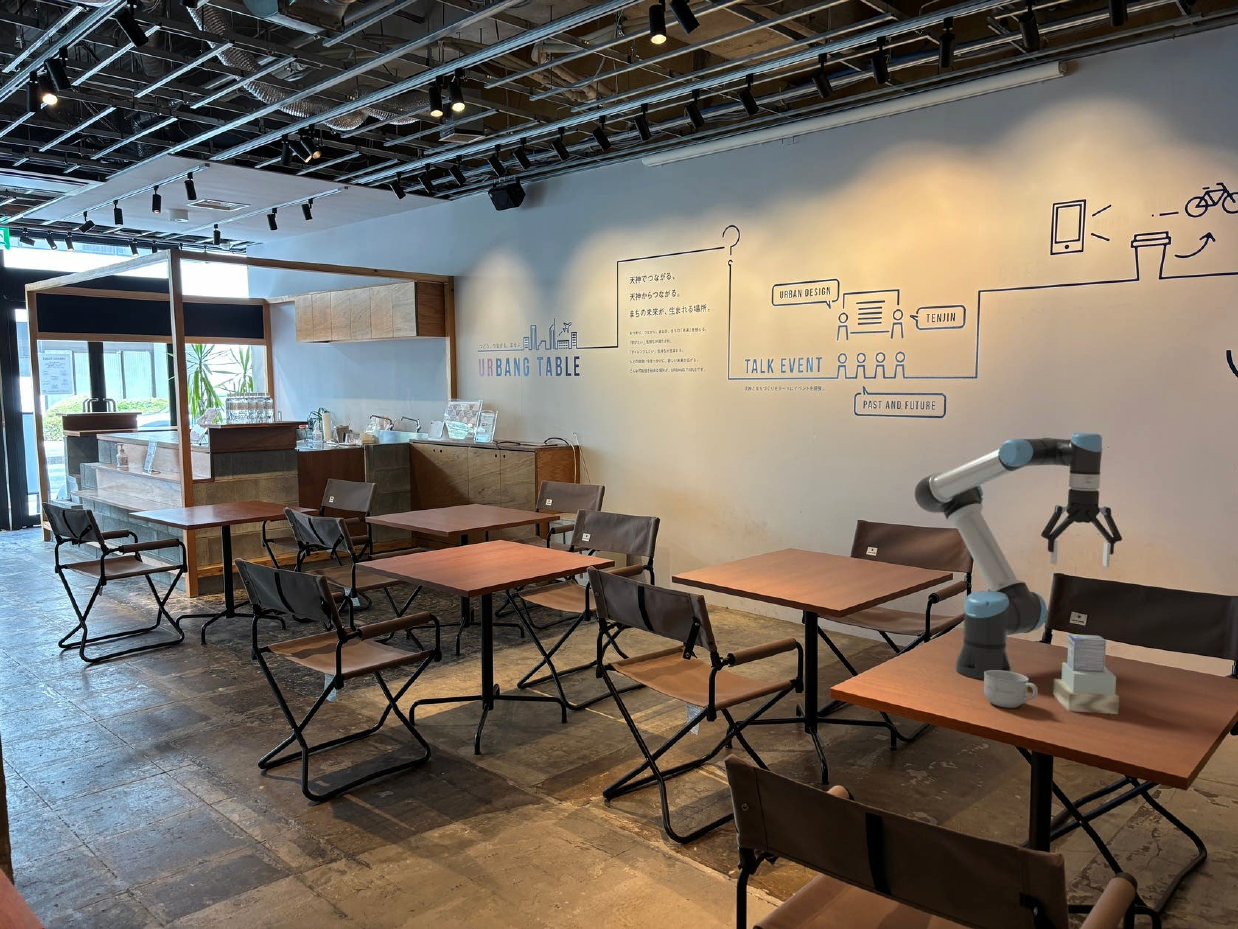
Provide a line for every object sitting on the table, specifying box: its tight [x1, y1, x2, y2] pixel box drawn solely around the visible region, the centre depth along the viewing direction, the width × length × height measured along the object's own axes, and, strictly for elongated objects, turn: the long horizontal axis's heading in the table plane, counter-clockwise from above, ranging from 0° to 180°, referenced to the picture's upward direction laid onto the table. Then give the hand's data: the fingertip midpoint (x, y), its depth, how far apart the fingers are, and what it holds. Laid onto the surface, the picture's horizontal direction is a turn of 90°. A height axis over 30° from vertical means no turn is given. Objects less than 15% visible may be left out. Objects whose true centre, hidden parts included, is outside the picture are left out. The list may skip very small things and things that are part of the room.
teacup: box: [983, 670, 1039, 709], centre depth 229 cm, size 14×11×8 cm
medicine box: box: [1066, 634, 1107, 672], centre depth 230 cm, size 8×4×9 cm, turn 82°
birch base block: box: [1052, 678, 1120, 715], centre depth 231 cm, size 12×12×5 cm
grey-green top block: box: [1061, 662, 1117, 696], centre depth 230 cm, size 10×10×5 cm
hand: (1079, 565), depth 242 cm, fingers open, 13 cm apart
